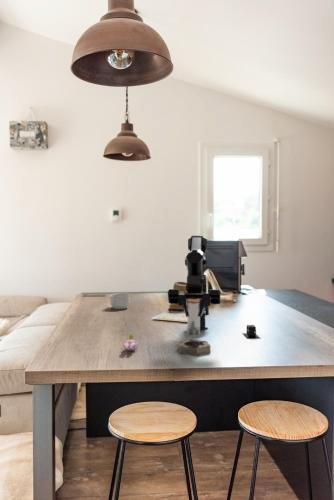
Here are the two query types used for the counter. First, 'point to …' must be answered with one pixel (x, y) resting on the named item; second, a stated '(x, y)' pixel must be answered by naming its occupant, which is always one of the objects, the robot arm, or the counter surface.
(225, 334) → the counter surface
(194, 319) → the grey copper-topped cylinder
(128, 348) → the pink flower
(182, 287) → the stone cup
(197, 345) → the ring nut
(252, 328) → the black flanged block
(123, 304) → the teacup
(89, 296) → the counter surface
